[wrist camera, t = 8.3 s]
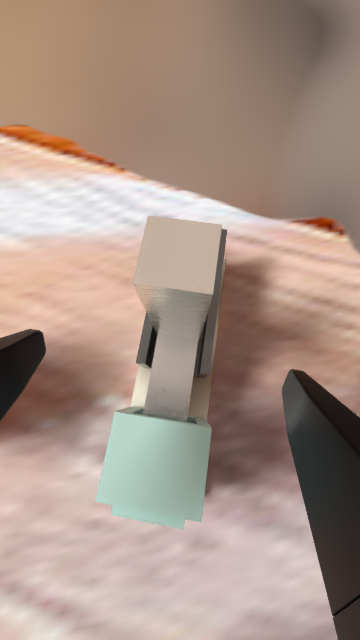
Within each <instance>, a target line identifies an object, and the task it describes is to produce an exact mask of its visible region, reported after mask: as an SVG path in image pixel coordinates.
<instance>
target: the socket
mask: <svg viewBox="0 0 360 640" xmlns="http://www.w3.org/2000/svg"><path fill="white" fill-rule="evenodd" d="M143 411H144V408H140V407H134V406H133V407H129V408H126V409H122V410H119V411H115V412H114V417H113V422H112V426H111V431H110V436H109V440H108V445H107V450H106V454H105V459H104V464H103V468H102V473H101V478H100V482H99V487H98V492H97V496H96V501H95V502H99V503H104V504H109V505H113V507H112V512H111V515H113V516H118V517H123V518H128V519H133V520H138V521H143V522H149V523H154V524H159V525H164V526H169V527H174V528H179V529H184V523H185V519H187V520H192V521H198V522H202V513H203V504H204V495H205V486H206V478H207V469H208V460H209V451H210V442H211V433H212V428H211V426H210V425H209V424H208V422H207V421H206V420H205V418H199V417H194V416H188V417H187V422H182V421H176V420H170V419H164V418H159V417H153V416H147V415H143Z"/></svg>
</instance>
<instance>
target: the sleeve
mask: <svg viewBox="0 0 360 640" xmlns="http://www.w3.org/2000/svg"><path fill="white" fill-rule="evenodd" d="M226 235H227V230H224V229H221V236H220V244H219V252H218V259H217V267H216V275H215V283H214V290H213V296H212V300H211V303H210V306H209V310H208V313H207V317H206V320H205V323H204V327H203V330H202V334H201V337H200V339H198V345H197V352H196V360H195V367H194V374H193V376H196V377H202V378H205V377H206V376H208V375H209V374H210V366H211V358H212V350H213V341H214V333H215V325H216V317H217V309H218V300H219V292H220V284H221V276H222V268H223V259H224V251H225V243H226ZM157 335H158V333H156V331H155V329H154V327H153V325H152V323H151V321H150V318H149V316H148V314H147V312H146V316H145V321H144V326H143V330H142V335H141V340H140V345H139V350H138V355H137V360H136V363H137V364H139V365H140V366H142V367H144V368H146V369H151V368H152V362H153V357H154V351H155V346H156V341H157Z"/></svg>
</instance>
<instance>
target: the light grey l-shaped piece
mask: <svg viewBox="0 0 360 640" xmlns="http://www.w3.org/2000/svg"><path fill="white" fill-rule="evenodd" d="M221 229H222V225H220V224H212V223H203V222H195V221H187V220H179V219H171V218H162V217H154V216H148V218H147V222H146V227H145V231H144V236H143V240H142V244H141V249H140V253H139V258H138V262H137V267H136V271H135V275H134V280H133V285H134V287H135V289H136V291H137V293H138V295H139V298H140V300H141V302H142V304H143V306H144V308H145V310H146V312H147V314H148V316H149V318H150V321H151V323H152V325H153V327H154V329H155V331H156V333H158V335H157V341H156V346H155V351H154V357H153V362H152V368H151V373H150V378H149V384H148V389H147V395H146V400H145V405H144V411H143V415H147V416H153V417H159V418H164V419H170V420H176V421H182V422H187V417H188V410H189V403H190V396H191V388H192V381H193V374H194V367H195V360H196V352H197V345H198V339H200V337H201V334H202V330H203V327H204V323H205V320H206V317H207V313H208V310H209V306H210V303H211V300H212V296H213V290H214V283H215V275H216V267H217V259H218V252H219V244H220V236H221Z"/></svg>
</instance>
